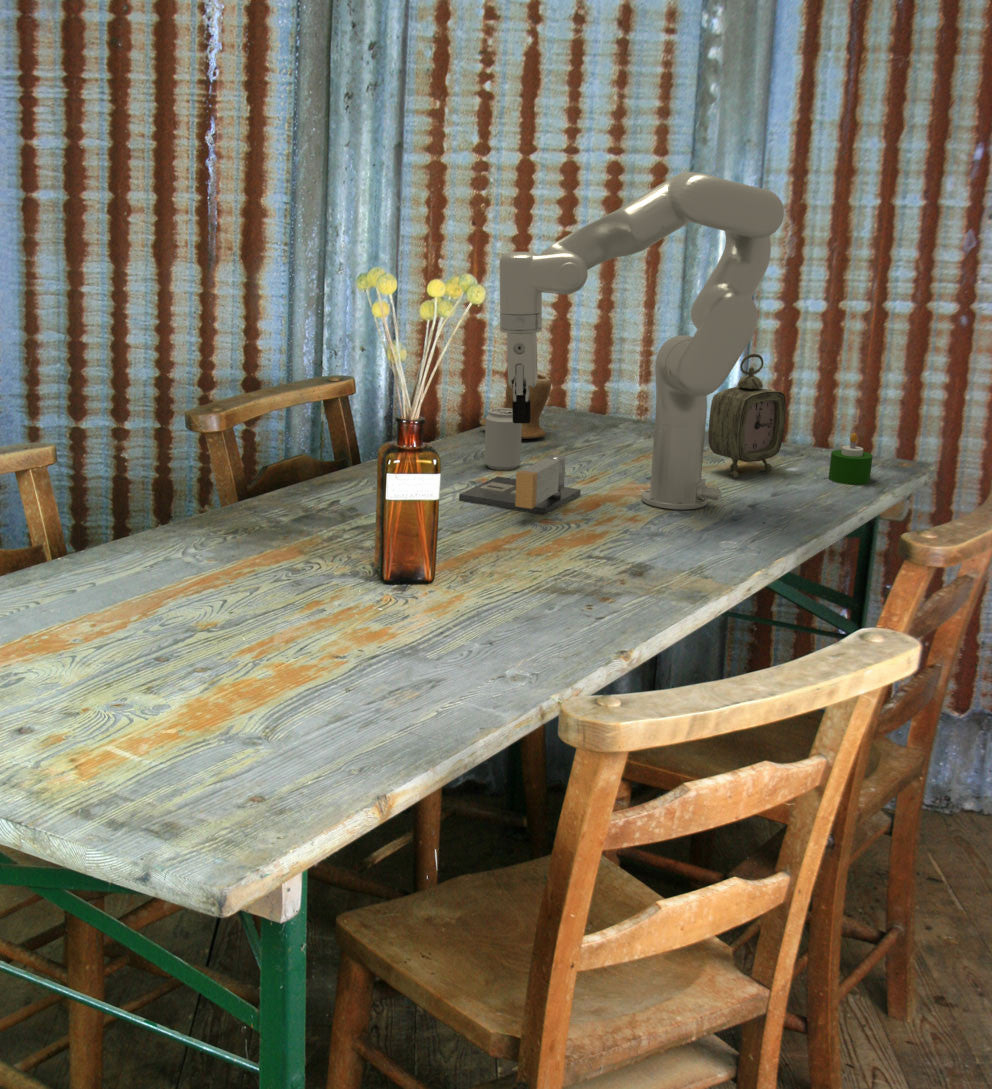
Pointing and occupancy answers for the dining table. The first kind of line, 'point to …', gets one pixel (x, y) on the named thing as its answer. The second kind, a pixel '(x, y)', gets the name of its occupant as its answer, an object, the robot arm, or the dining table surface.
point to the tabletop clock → (747, 421)
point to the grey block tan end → (540, 481)
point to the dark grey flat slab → (514, 496)
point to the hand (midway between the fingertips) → (521, 422)
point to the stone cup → (532, 406)
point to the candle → (850, 464)
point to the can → (502, 440)
